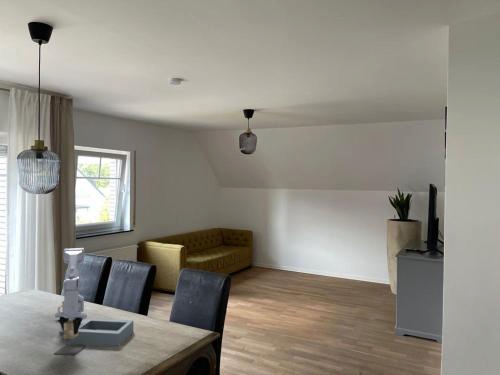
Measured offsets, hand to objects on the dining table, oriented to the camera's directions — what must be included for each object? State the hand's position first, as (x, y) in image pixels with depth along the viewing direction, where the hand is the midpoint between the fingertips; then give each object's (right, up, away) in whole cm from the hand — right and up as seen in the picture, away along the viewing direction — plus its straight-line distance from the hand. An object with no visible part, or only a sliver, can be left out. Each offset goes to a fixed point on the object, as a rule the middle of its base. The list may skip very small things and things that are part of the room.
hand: (70, 333), depth 179 cm
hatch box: (+9, -8, +15) cm, 20 cm away
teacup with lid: (-23, -8, +45) cm, 51 cm away
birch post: (0, -2, 0) cm, 2 cm away
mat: (0, -8, 0) cm, 8 cm away
